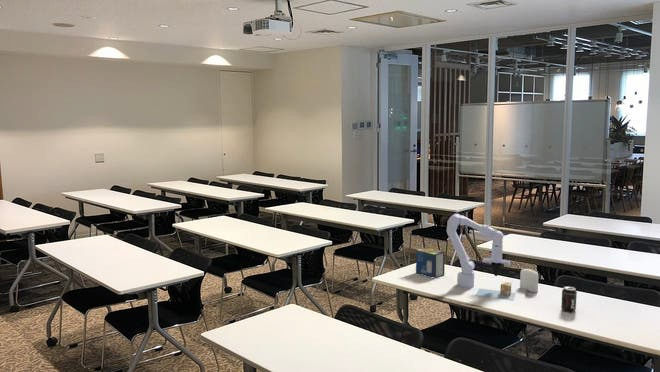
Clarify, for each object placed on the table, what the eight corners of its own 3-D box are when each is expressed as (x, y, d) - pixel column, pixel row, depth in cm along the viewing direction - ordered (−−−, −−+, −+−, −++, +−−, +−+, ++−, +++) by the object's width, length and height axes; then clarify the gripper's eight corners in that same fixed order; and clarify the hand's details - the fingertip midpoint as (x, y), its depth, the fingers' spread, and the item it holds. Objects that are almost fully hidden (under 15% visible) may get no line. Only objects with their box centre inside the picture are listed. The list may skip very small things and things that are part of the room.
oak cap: (500, 294, 291) (500, 284, 290) (501, 292, 295) (501, 281, 295) (510, 295, 289) (510, 285, 288) (511, 293, 293) (511, 282, 293)
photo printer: (518, 288, 305) (519, 268, 303) (522, 287, 307) (523, 267, 306) (535, 293, 297) (536, 272, 295) (539, 291, 299) (539, 270, 298)
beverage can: (577, 313, 265) (578, 290, 264) (562, 312, 266) (564, 289, 265) (573, 308, 272) (575, 286, 270) (559, 308, 273) (560, 285, 272)
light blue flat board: (475, 297, 289) (475, 295, 289) (479, 290, 302) (479, 288, 302) (513, 302, 281) (513, 300, 281) (515, 295, 294) (515, 293, 294)
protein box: (426, 270, 344) (426, 247, 342) (444, 275, 332) (445, 251, 330) (415, 273, 338) (415, 249, 336) (433, 278, 326) (434, 254, 324)
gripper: (482, 252, 297) (481, 275, 299) (509, 255, 291) (508, 279, 292) (484, 249, 303) (483, 272, 305) (511, 252, 297) (509, 275, 299)
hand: (496, 275), depth 299 cm, fingers closed
